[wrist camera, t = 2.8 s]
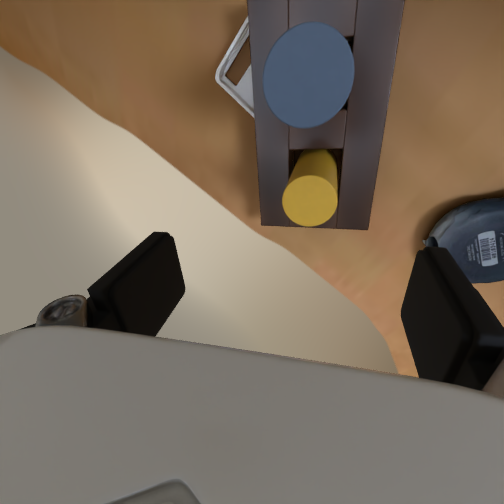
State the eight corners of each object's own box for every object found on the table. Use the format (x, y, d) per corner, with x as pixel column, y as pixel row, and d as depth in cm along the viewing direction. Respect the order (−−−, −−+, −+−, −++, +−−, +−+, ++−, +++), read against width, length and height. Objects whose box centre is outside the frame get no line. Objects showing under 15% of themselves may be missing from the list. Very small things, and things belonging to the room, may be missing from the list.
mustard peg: (338, 144, 27) (340, 175, 19) (335, 184, 29) (335, 228, 21) (296, 145, 28) (281, 175, 20) (296, 184, 30) (282, 225, 22)
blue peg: (346, 46, 23) (360, 14, 11) (342, 101, 25) (349, 127, 13) (297, 52, 24) (259, 28, 12) (297, 104, 26) (264, 130, 14)
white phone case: (274, 132, 28) (414, -41, 19) (271, 134, 27) (419, -48, 18) (216, 77, 26) (341, -134, 18) (211, 77, 25) (341, -148, 17)
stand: (399, -15, 20) (409, -30, 18) (364, 215, 30) (367, 230, 27) (257, 7, 23) (246, -3, 20) (267, 212, 33) (261, 225, 30)
